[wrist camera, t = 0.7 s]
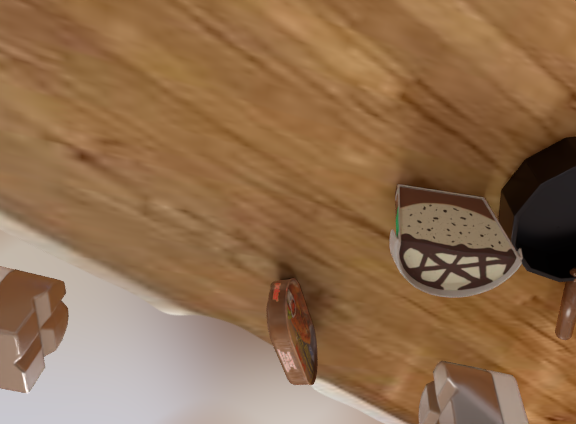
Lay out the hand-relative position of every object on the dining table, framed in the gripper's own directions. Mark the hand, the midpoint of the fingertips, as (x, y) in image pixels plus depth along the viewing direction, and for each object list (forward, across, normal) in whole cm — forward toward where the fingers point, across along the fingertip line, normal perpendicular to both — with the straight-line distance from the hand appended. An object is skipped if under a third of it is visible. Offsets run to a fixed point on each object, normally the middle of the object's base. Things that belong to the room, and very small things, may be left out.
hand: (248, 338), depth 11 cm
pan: (+41, -30, +21) cm, 55 cm away
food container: (+40, -15, +21) cm, 48 cm away
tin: (+40, -3, +39) cm, 56 cm away
